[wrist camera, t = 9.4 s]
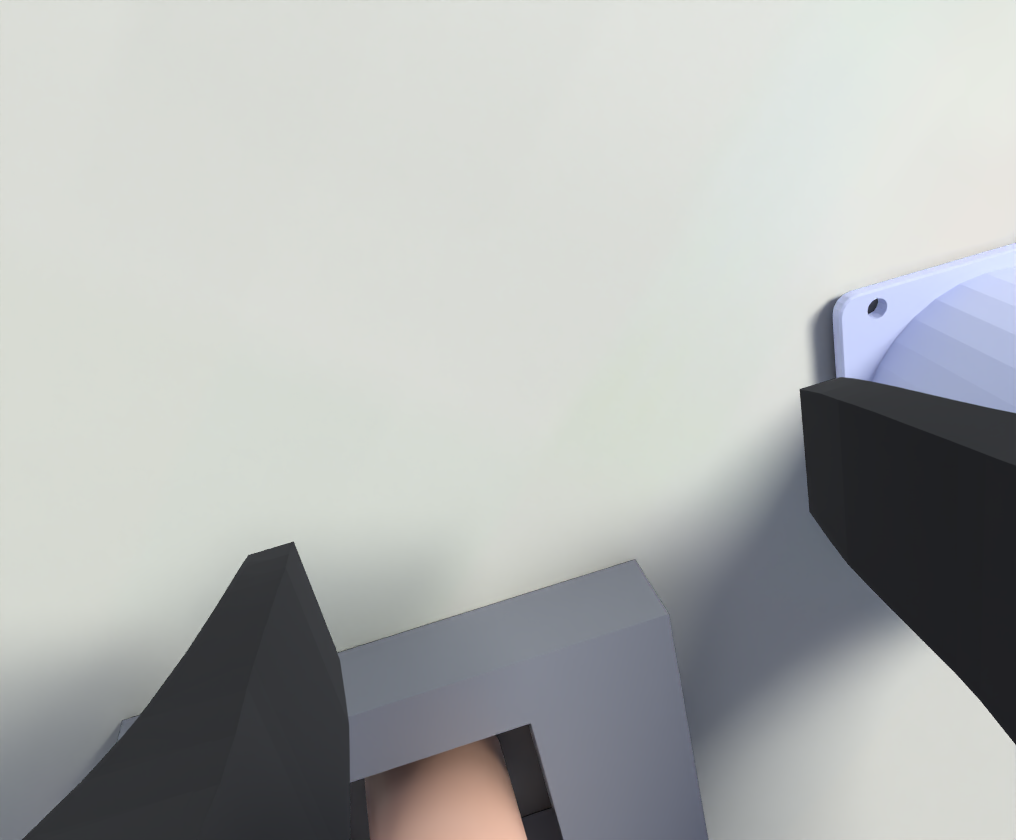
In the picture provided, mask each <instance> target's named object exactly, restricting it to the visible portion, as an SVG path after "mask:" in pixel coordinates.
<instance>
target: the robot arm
mask: <svg viewBox="0 0 1016 840" xmlns="http://www.w3.org/2000/svg"><path fill="white" fill-rule="evenodd" d="M875 299H878V305H877V307H876V309H875V310H874V311H873V312H871V313H869V314H868V312H867V311H868V306H869V305H870V303H871V302H872V301H873V300H875ZM833 332H834V348H835V365H836V378H835V379H832V380H829V381H825V382H822V383H819V384H815V385H812V386H809V387H805V388H802V389H800V398H801V410H802V423H803V435H804V447H805V460H806V472H807V485H808V497H809V509H810V513H811V514H812V516H813V517H814V518H815V520H816V521H817V523H818V524H819V526H820V527H821V528H822V530H823V531H824V533H825V534H826V536H827V537H828V538H829V540H830V541H831V542H832V544H833V545H834V546H835V548H836V549H837V550H838V552H839V553H840V554H841V556H842V557H843V558H844V560H845V561H846V562H847V564H848V565H849V566H850V567H851V568H852V569H853V570H854V571H855V572H856V573H857V574H858V575H859V576H860V577H861V578H862V579H863V580H864V581H865V583H866V584H867V585H868V586H869V587H870V588H871V589H872V590H873V591H874V592H875V593H876V594H877V595H878V596H879V597H880V598H881V599H882V600H883V601H884V602H885V603H886V604H887V605H888V606H889V607H890V608H891V609H892V610H893V611H894V612H895V613H896V614H897V615H898V616H899V617H900V618H901V619H902V620H903V621H904V622H905V623H906V624H907V625H908V626H909V627H910V628H911V629H912V630H913V631H914V632H915V633H916V634H917V635H918V636H919V637H920V638H921V639H922V640H923V641H924V642H925V643H926V644H927V645H928V646H929V647H930V648H931V649H932V650H933V651H934V652H935V653H936V654H937V655H938V656H939V657H940V658H941V659H942V660H943V661H944V662H945V663H946V664H947V665H948V666H949V667H950V668H951V669H952V670H953V671H954V672H955V673H956V674H957V675H958V677H959V678H960V679H961V680H962V681H963V682H964V683H965V684H966V685H967V686H968V688H969V689H970V690H971V691H972V692H973V693H974V694H975V695H976V696H977V697H978V699H979V700H980V701H981V702H982V703H983V704H984V706H985V707H986V708H987V709H988V711H989V712H990V713H991V714H992V716H993V717H994V718H995V719H996V721H997V722H998V723H999V724H1000V726H1001V727H1002V728H1003V729H1004V731H1005V732H1006V733H1007V734H1008V736H1009V737H1010V738H1011V739H1012V741H1013V742H1014V743H1015V744H1016V243H1013V244H1010V245H1006V246H1003V247H1000V248H996V249H993V250H989V251H986V252H982V253H979V254H976V255H972V256H969V257H965V258H962V259H958V260H955V261H952V262H948V263H945V264H941V265H938V266H935V267H931V268H928V269H924V270H921V271H917V272H914V273H911V274H907V275H904V276H900V277H897V278H893V279H890V280H887V281H883V282H880V283H876V284H873V285H869V286H866V287H863V288H859V289H856V290H852V291H849V292H847V293H845V294H843V295H842V296H841V297H840V298H839V299H838V300H837V302H836V304H835V306H834V308H833ZM22 840H350V738H349V719H348V712H347V704H346V697H345V690H344V683H343V677H342V670H341V663H340V658H339V656H338V653H337V651H336V648H335V646H334V643H333V641H332V638H331V636H330V633H329V630H328V628H327V625H326V623H325V620H324V618H323V615H322V613H321V610H320V607H319V605H318V602H317V600H316V597H315V595H314V592H313V590H312V587H311V585H310V582H309V579H308V577H307V574H306V572H305V569H304V567H303V564H302V562H301V559H300V557H299V554H298V551H297V549H296V546H295V544H294V542H291V543H287V544H284V545H281V546H277V547H274V548H271V549H267V550H264V551H261V552H258V553H254V554H251V555H248V557H247V558H246V560H245V561H244V562H243V564H242V566H241V567H240V569H239V570H238V572H237V574H236V575H235V577H234V578H233V580H232V582H231V583H230V585H229V587H228V588H227V590H226V591H225V593H224V595H223V596H222V598H221V599H220V601H219V603H218V604H217V606H216V608H215V609H214V611H213V612H212V614H211V615H210V617H209V618H208V620H207V622H206V623H205V625H204V626H203V628H202V629H201V631H200V632H199V634H198V635H197V637H196V638H195V640H194V642H193V643H192V645H191V646H190V648H189V649H188V651H187V652H186V654H185V655H184V656H183V658H182V659H181V660H180V662H179V663H178V664H177V666H176V667H175V669H174V670H173V671H172V673H171V674H170V675H169V677H168V678H167V680H166V681H165V682H164V684H163V685H162V686H161V688H160V689H159V690H158V692H157V693H156V695H155V696H154V697H153V699H152V700H151V701H150V703H149V704H148V706H147V707H146V708H145V709H144V711H143V712H142V713H141V714H140V716H139V717H138V718H137V719H136V721H135V722H134V723H133V724H132V725H131V727H130V728H129V729H128V730H127V731H126V733H125V734H124V735H123V736H122V737H121V739H120V740H119V741H118V742H117V743H116V744H115V745H114V746H113V748H112V749H111V750H110V751H109V752H108V753H107V754H106V755H105V757H104V758H103V759H102V760H101V761H100V762H99V763H98V764H97V765H96V767H95V768H94V769H93V770H92V771H91V772H90V773H89V774H88V775H87V776H86V777H85V778H84V779H83V781H82V782H81V783H80V784H79V785H78V786H77V787H76V788H75V789H73V790H72V791H71V792H70V793H69V794H68V795H67V796H66V797H65V798H64V799H63V800H62V801H61V802H60V803H59V804H58V805H57V806H56V807H55V808H54V809H53V810H52V811H51V812H50V813H49V814H48V815H47V816H46V817H45V818H44V819H43V820H42V821H41V822H40V823H39V824H38V825H37V826H36V827H35V828H34V829H32V830H31V831H30V832H29V833H28V834H27V835H26V836H25V837H24V838H23V839H22Z"/></svg>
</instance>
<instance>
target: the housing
mask: <svg viewBox="0 0 1016 840" xmlns="http://www.w3.org/2000/svg"><path fill="white" fill-rule="evenodd" d="M338 656H339V658H340V663H341V670H342V677H343V683H344V690H345V697H346V704H347V712H348V719H349V738H350V783H351V782H354V781H357V780H360V779H363V778H366V777H369V776H372V775H375V774H378V773H381V772H384V771H387V770H390V769H393V768H396V767H399V766H402V765H405V764H408V763H412V762H415V761H418V760H421V759H424V758H427V757H430V756H433V755H436V754H439V753H442V752H445V751H448V750H451V749H454V748H457V747H460V746H463V745H466V744H469V743H472V742H475V741H478V740H482V739H485V738H488V737H491V736H494V735H497V734H500V733H503V732H506V731H509V730H512V729H515V728H518V727H521V726H524V725H527V724H529V728H530V731H531V735H532V738H533V742H534V746H535V749H536V753H537V756H538V760H539V763H540V767H541V770H542V774H543V777H544V781H545V784H546V788H547V792H548V795H549V799H550V802H551V806H552V808H550V809H547V810H544V811H541V812H538V813H535V814H532V815H529V816H526V817H523V818H521V819H522V822H523V826H524V830H525V833H526V837H527V840H708V835H707V830H706V824H705V818H704V812H703V807H702V801H701V795H700V789H699V784H698V778H697V772H696V766H695V761H694V755H693V749H692V744H691V738H690V732H689V726H688V721H687V715H686V709H685V703H684V698H683V692H682V686H681V681H680V675H679V669H678V663H677V658H676V652H675V646H674V640H673V635H672V629H671V623H670V617H669V613H668V612H667V610H666V608H665V607H664V605H663V604H662V602H661V600H660V599H659V597H658V595H657V594H656V592H655V591H654V589H653V587H652V586H651V584H650V582H649V581H648V579H647V578H646V576H645V574H644V573H643V571H642V569H641V568H640V566H639V564H638V563H637V561H636V560H632V561H628V562H625V563H622V564H619V565H616V566H613V567H609V568H606V569H603V570H600V571H597V572H593V573H590V574H587V575H584V576H581V577H578V578H574V579H571V580H568V581H565V582H562V583H559V584H555V585H552V586H549V587H546V588H543V589H539V590H536V591H533V592H530V593H527V594H524V595H520V596H517V597H514V598H511V599H508V600H504V601H501V602H498V603H495V604H492V605H489V606H485V607H482V608H479V609H476V610H473V611H469V612H466V613H463V614H460V615H457V616H454V617H450V618H447V619H444V620H441V621H438V622H434V623H431V624H428V625H425V626H422V627H419V628H415V629H412V630H409V631H406V632H403V633H399V634H396V635H393V636H390V637H387V638H384V639H380V640H377V641H374V642H371V643H368V644H364V645H361V646H358V647H355V648H352V649H349V650H345V651H342V652H339V653H338ZM139 716H140V715H139ZM139 716H135V717H132V718H129V719H126V720H123V721H122V725H121V728H120V732H119V736H118V740H117V742H118V741H119V740H120V739H121V737H122V736H123V735H124V734H125V733H126V731H127V730H128V729H129V728H130V727H131V725H132V724H133V723H134V722H135V721H136V719H137V718H138V717H139Z"/></svg>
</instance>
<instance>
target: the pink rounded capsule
mask: <svg viewBox="0 0 1016 840" xmlns="http://www.w3.org/2000/svg"><path fill="white" fill-rule="evenodd" d="M364 779H365V790H366V801H367V812H368V823H369V834H370V840H527V837H526V833H525V830H524V826H523V822H522V819H521V815H520V812H519V808H518V805H517V801H516V798H515V794H514V791H513V787H512V784H511V780H510V777H509V773H508V770H507V766H506V763H505V759H504V756H503V752H502V749H501V745H500V743H499V740H498V738H497V736H496V735H494V736H491V737H488V738H485V739H482V740H478V741H475V742H472V743H469V744H466V745H463V746H460V747H457V748H454V749H451V750H448V751H445V752H442V753H439V754H436V755H433V756H430V757H427V758H424V759H421V760H418V761H415V762H412V763H408V764H405V765H402V766H399V767H396V768H393V769H390V770H387V771H384V772H381V773H378V774H375V775H372V776H369V777H366V778H364Z"/></svg>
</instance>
